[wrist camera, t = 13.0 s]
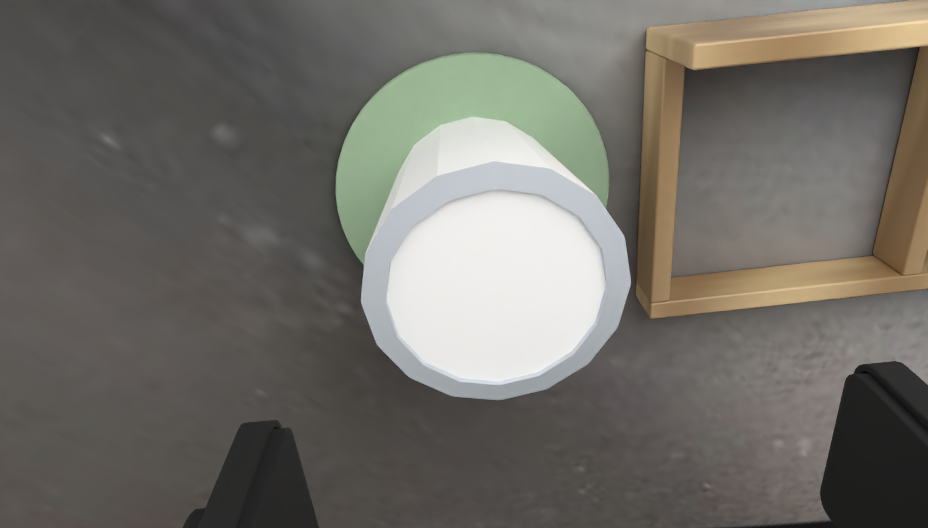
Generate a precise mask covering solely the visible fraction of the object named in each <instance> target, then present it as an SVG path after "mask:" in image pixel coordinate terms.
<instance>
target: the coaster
mask: <svg viewBox="0 0 928 528" xmlns="http://www.w3.org/2000/svg"><path fill="white" fill-rule="evenodd" d="M469 117H479V118H487V119H494V120H501V121H506V122H508V123H509V124H511V125H513V126H514V127H516V128H518V129H519V130H521V131H523V132H524V133H526V134H527V135H529V136H531V137H532V138H534V139H535V140H536V141H537V142H538V143H539V144H540V145H541V146H542V147H544V148H545V149H546V150H547V151H548V152H549V153H550V154H551V155H552V156H553V157H555V158H556V159H557V160H558V161H559V162H560V163H561V164H562V165H563V166H564V167H566V168H567V169H568V170H569V171H570V172H571V173H572V174H573V175H574V176H576V177H577V178H578V179H579V180H580V181H581V182H582V183H583V184H584V185H585V186H587V187H588V188H589V189H590V190H591V191H592V192H593V193H594V194H595V195H597V197H598V198H599V200H600V201H601V203H602V204H603V205H604V207H605V208H606V205H607V201H608V192H609V165H608V160H607V155H606V149H605V146H604V143H603V140H602V137H601V134H600V132H599V130H598V128H597V126H596V124H595V122H594V120H593V118H592V116H591V115H590V113H589V112H588V110H587V109H586V108H585V106H584V105H583V103H582V102H581V101H580V100H579V99H578V98H577V97H576V96H575V95H574V94H573V92H572V91H571V90H570V89H569V88H568V87H567V86H565V85H564V84H563V83H561V82H560V81H559V80H558V79H556V78H555V77H554V76H553V75H551V74H549V73H547V72H546V71H544V70H542V69H541V68H539V67H537V66H535V65H533V64H530V63H528V62H525V61H523V60H520V59H517V58H513V57H509V56H505V55H501V54H493V53H483V52H473V53H458V54H452V55H446V56H441V57H438V58H435V59H432V60H428V61H425V62H422V63H420V64H418V65H416V66H414V67H412V68H410V69H408V70H406V71H404V72H403V73H401V74H399V75H398V76H396V77H395V78H393V79H392V80H390V81H389V82H388V83H387V84H385V85H384V86H383V87H382V88H381V89H380V90H379V91H377V92H376V93H375V94H374V95H373V97H372V98H371V99H370V100H369V101H368V102H367V103H366V105H365V106H364V107H363V108H362V110H361V111H360V113H359V114H358V116H357V117H356V119H355V120H354V122H353V124H352V126H351V128H350V130H349V132H348V134H347V136H346V138H345V141H344V144H343V147H342V150H341V153H340V157H339V161H338V167H337V173H336V201H337V209H338V214H339V217H340V221H341V225H342V228H343V230H344V233H345V235H346V238H347V240H348V242H349V244H350V246H351V247H352V249H353V251H354V253H355V254H356V256H357V257H358V259H359V260H360V261H361V262H362V264H363V265H364V261H365V253H366V251H367V248H368V246H369V243H370V241H371V239H372V236H373V234H374V231H375V229H376V226H377V224H378V221H379V219H380V216H381V214H382V211H383V209H384V207H385V204H386V202H387V199H388V197H389V194H390V192H391V189H392V187H393V184H394V182H395V180H396V177H397V175H398V172H399V170H400V169H401V167H402V165H403V163H404V162H405V160H406V158H407V157H408V155H409V153H410V151H411V150H412V148H413V146H414V145H415V144H416V143H417V142H419V141H420V140H421V139H423V138H424V137H425V136H426V135H428V134H429V133H430V132H432V131H433V130H434V129H436V128H437V127H438V126H440V125H442V124H446V123H450V122H454V121H458V120H461V119H465V118H469Z"/></svg>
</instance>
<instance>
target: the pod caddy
mask: <svg viewBox="0 0 928 528" xmlns="http://www.w3.org/2000/svg"><path fill="white" fill-rule="evenodd" d="M914 47H920V49H919V54H918V58H917V62H916V67H915V71H914V75H913V80H912V84H911V88H910V93H909V97H908V102H907V106H906V110H905V115H904V119H903V123H902V128H901V132H900V136H899V141H898V145H897V149H896V154H895V158H894V162H893V167H892V171H891V176H890V180H889V184H888V189H887V193H886V197H885V202H884V206H883V210H882V215H881V219H880V223H879V228H878V232H877V237H876V241H875V245H874V250H873V255H874V256H865V257H856V258H846V259H837V260H828V261H819V262H809V263H800V264H791V265H782V266H773V267H763V268H754V269H745V270H736V271H727V272H717V273H708V274H699V275H690V276H681V277H671V267H672V252H673V238H674V223H675V209H676V194H677V179H678V165H679V150H680V136H681V121H682V106H683V92H684V77H685V67H688V68H690V69H692V70H701V69H711V68H721V67H730V66H740V65H749V64H759V63H769V62H778V61H788V60H798V59H807V58H817V57H827V56H836V55H846V54H856V53H865V52H875V51H885V50H894V49H904V48H914ZM646 49H647V50H648V51H646V59H645V84H644V109H643V133H642V158H641V183H640V207H639V232H638V256H637V283H636V296H637V298H638V300H639V301H640V303H641V304H642V306H643V308H644V309H645V311H646V313H647V314H648V316H649V317H650V318H651V319H656V318H665V317H674V316H684V315H693V314H702V313H711V312H720V311H729V310H738V309H748V308H757V307H766V306H775V305H784V304H793V303H802V302H811V301H821V300H830V299H839V298H848V297H857V296H866V295H875V294H884V293H894V292H903V291H912V290H921V289H928V0H910V1H900V2H891V3H881V4H871V5H861V6H852V7H842V8H832V9H822V10H813V11H803V12H793V13H783V14H774V15H764V16H754V17H744V18H735V19H725V20H715V21H705V22H696V23H686V24H676V25H666V26H656V27H649V28H647V35H646Z"/></svg>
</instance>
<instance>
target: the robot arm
mask: <svg viewBox="0 0 928 528" xmlns="http://www.w3.org/2000/svg"><path fill="white" fill-rule="evenodd" d="M820 496H821V502H822V505H823V508H824V510H825V512H826V513H827V515H828V516H829V518H830V519H831V521H832V522H833V524H834V525H835V527H836V528H928V385H927V384H926V383H925V382H923V381H922V380H921V379H920V378H919V377H918V376H917V375H916V374H914V373H913V372H912V371H911V370H910V369H909V368H908V367H907V366H905V365H904V364H902V363H901V362H896V361H893V362H883V363H872V364H863V365H859V366H858V367H857V368H856V369H855V371H854V374H851V375H849V376H848V377H847V378H846V381H845V384H844V389H843V393H842V397H841V402H840V406H839V410H838V415H837V419H836V424H835V428H834V432H833V437H832V441H831V446H830V450H829V454H828V459H827V463H826V468H825V472H824V476H823V481H822V485H821V490H820ZM183 528H319V527H318V523H317V519H316V516H315V512H314V508H313V505H312V501H311V498H310V494H309V490H308V487H307V483H306V479H305V476H304V472H303V469H302V465H301V461H300V458H299V454H298V451H297V447H296V443H295V440H294V436H293V433H292V430H291V429H290V428H282V427H281V425H280V423H279V422H278V421H277V420H270V421H260V422H249V423H243V424H242V425H241V426H240V427H239V429H238V431H237V434H236V436H235V439H234V441H233V443H232V446H231V448H230V451H229V453H228V455H227V458H226V460H225V463H224V465H223V467H222V470H221V472H220V475H219V477H218V479H217V482H216V484H215V487H214V489H213V491H212V494H211V496H210V498H209V501H208V503H207V506H206V508H203V509H195V510H194V511H193V512H192V513H191V514H190V515H189V517H188V519H187V520H186V522H185V524H184V526H183Z"/></svg>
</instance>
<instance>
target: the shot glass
mask: <svg viewBox="0 0 928 528" xmlns="http://www.w3.org/2000/svg"><path fill="white" fill-rule="evenodd" d="M630 285H631V278H630V271H629V264H628V256H627V249H626V242H625V236H624V235H623V233H622V232H621V230H620V229H619V228H618V226H617V225H616V223H615V222H614V220H613V219H612V217H611V216H610V214H609V213H608V211H607V210H606V208H605V207H604V205H603V204H602V203H601V201H600V200H599V198H598V197H597V195H595V194H594V193H593V192H592V191H591V190H590V189H589V188H588V187H587V186H585V185H584V184H583V183H582V182H581V181H580V180H579V179H578V178H577V177H576V176H574V175H573V174H572V173H571V172H570V171H569V170H568V169H567V168H566V167H564V166H563V165H562V164H561V163H560V162H559V161H558V160H557V159H556V158H555V157H553V156H552V155H551V154H550V153H549V152H548V151H547V150H546V149H545V148H544V147H542V146H541V145H540V144H539V143H538V142H537V141H536V140H535V139H534V138H532V137H531V136H529V135H527V134H526V133H524V132H523V131H521V130H519V129H518V128H516V127H514V126H513V125H511V124H509V123H508V122H506V121H501V120H494V119H487V118H479V117H469V118H465V119H461V120H458V121H454V122H450V123H446V124H442V125H440V126H438V127H437V128H436V129H434V130H433V131H432V132H430V133H429V134H428V135H426V136H425V137H424V138H423V139H421V140H420V141H419V142H417V143H416V144H415V145H414V146H413V148H412V150H411V151H410V153H409V155H408V157H407V158H406V160H405V162H404V163H403V165H402V167H401V169H400V170H399V172H398V175H397V177H396V180H395V182H394V184H393V187H392V189H391V192H390V194H389V197H388V199H387V202H386V204H385V207H384V209H383V211H382V214H381V216H380V219H379V221H378V224H377V226H376V229H375V231H374V234H373V236H372V239H371V241H370V243H369V246H368V248H367V251H366V253H365V261H364V272H363V283H362V294H361V304H362V306H363V309H364V312H365V314H366V317H367V320H368V323H369V325H370V328H371V331H372V333H373V336H374V339H375V341H376V344H377V345H378V346H379V347H380V348H381V349H382V351H383V352H384V353H385V354H386V355H387V356H388V357H389V358H390V359H391V360H392V361H393V362H394V363H395V364H396V365H397V366H398V367H399V368H400V369H401V370H402V371H403V372H404V373H405V374H406V375H407V376H408V377H409V378H412V379H414V380H416V381H418V382H421V383H423V384H425V385H428V386H430V387H432V388H434V389H437V390H439V391H441V392H443V393H446V394H448V395H450V396H455V397H467V398H479V399H491V400H503V399H507V398H511V397H515V396H520V395H524V394H528V393H532V392H537V391H541V390H545V389H548V388H549V387H551V386H553V385H554V384H556V383H558V382H559V381H561V380H563V379H564V378H566V377H568V376H569V375H571V374H572V373H574V372H576V371H577V370H579V369H581V368H582V367H584V366H586V365H587V364H588V363H589V362H590V361H591V360H592V358H593V357H594V356H595V355H596V353H597V352H598V351H599V350H600V349H601V347H602V346H603V345H604V344H605V342H606V341H607V340H608V339H609V337H610V336H611V335H612V334H613V333H614V331H615V330H616V329H617V328H618V325H619V321H620V318H621V315H622V312H623V308H624V305H625V302H626V299H627V295H628V292H629V289H630Z"/></svg>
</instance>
